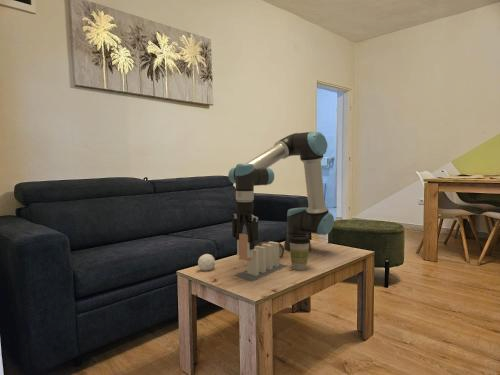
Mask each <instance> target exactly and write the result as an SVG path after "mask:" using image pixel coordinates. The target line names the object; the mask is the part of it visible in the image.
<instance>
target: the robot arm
mask: <svg viewBox="0 0 500 375" xmlns="http://www.w3.org/2000/svg"><path fill="white" fill-rule="evenodd" d="M327 142H328V141H327V139H326V136H325V135H323V133H322V132H319V131H306V132H295V133H291V134H289V135H286V136H285V137H283V138H281V139H279V140H277V141H276V142H275V143H274V144H273V146H272V147H270V148H268V149H267V150H265V151H264V152H262V153H260V154H259V155H258V156H256V157H254V158H252V159H251V160H249V161H248V162H246V163H237V164H236V165H235V167H232V168H231V169H229V171H228V180H229V181H230V182H231V183H232V184H235V200H236V202H235V210H236V213H233V214H231V215H230V216H231V217H230V218H231V220H232V221H231V222H232V223H231V224H232V225H231V227H232V228H231V229H232V231H231V234H232V235H231V236H232V238H234V239H235V243H236V244H235V245H236V249H237V251H236V255H237V256H239V233H243V231H244V226H245V228H246V232H247V233H246V234H248V239H249V241H248V242H247V258H250V257H253V249H255V248H254V246H255V242H257V241H259V221H260V217H259V216H255V215H254V209H255V208H254V207H255V204H254V203H255V201H254V200H255V197H254V196H255V192H254V191H255V190H254V189H255V188H254V187H255V186H257V187H259V186H267V185H271V184H273V182H274V180H275V172H274V171H273V169H272V168H270V167H271V166H272V165H274V164H276V163H277V162H279V161H280V160H282V159H283V160H284V159H287V158H288V157H291V156H292V157H293V156H299V158H300V159H299V160H300V161H301V162H302V163H303V166H304V175H305V176H304V177H305V187H306V195H307V203H308V207H295V208H289V209H288V210H287V215H286V237H285V240H284V244H283V247H284V251H285V250H286V251H287V252H290V242H289V239H290V237H291V236H294V235H303V236H308V237H309V233H310V234H315V235H318V236H319V235H321V236H326V235H328V234H329V233H330V232H331V231H332V230H333V228H334V223H335V218H334V217H335V216H334V215H333V214H332V213H330V212H329V211H330V210H329V207H328V206H326V202H325V192H324V182H323V181H324V180H323V172H322V160H323V159H324V155H325V154H326V153H327V150H328V143H327ZM311 250H312V244H311V242H310V243H309V251H311Z"/></svg>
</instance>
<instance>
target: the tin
mask: <svg viewBox="0 0 500 375" xmlns="http://www.w3.org/2000/svg"><path fill="white" fill-rule="evenodd" d="M268 242H269V241H260V242H258V243H257V244H256V245H255V246H261V244H268ZM276 243H279V259H281V258H282V257H283V255H284V254H285V249H284V244H282V243H281V242H276Z"/></svg>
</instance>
